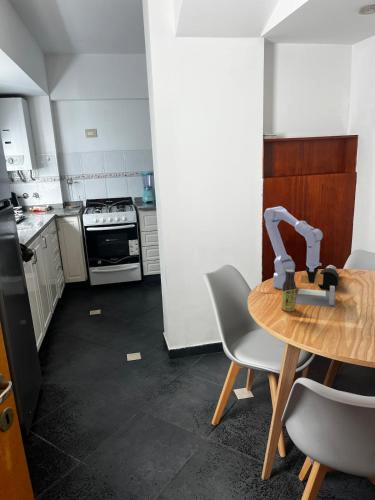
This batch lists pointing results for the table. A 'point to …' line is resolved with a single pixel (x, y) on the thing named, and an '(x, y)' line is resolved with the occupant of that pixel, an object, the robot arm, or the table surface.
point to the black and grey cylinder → (329, 277)
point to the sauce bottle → (289, 292)
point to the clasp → (331, 295)
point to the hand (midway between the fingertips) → (311, 281)
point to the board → (314, 297)
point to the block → (317, 279)
